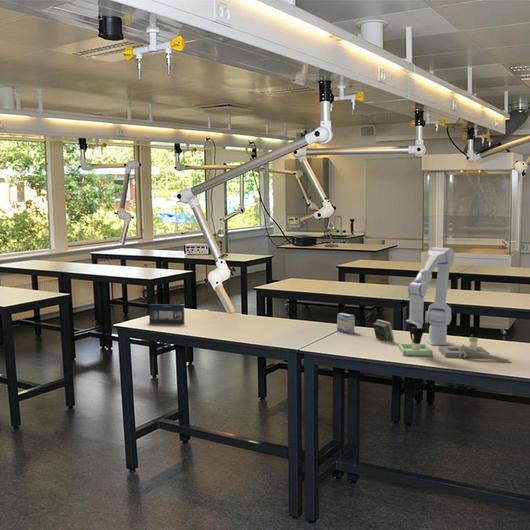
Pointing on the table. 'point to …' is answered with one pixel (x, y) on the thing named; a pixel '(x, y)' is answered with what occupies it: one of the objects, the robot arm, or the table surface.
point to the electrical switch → (383, 330)
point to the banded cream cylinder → (415, 346)
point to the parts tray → (407, 350)
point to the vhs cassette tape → (166, 313)
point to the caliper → (479, 354)
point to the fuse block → (454, 351)
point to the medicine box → (345, 322)
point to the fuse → (473, 343)
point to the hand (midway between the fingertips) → (415, 341)
